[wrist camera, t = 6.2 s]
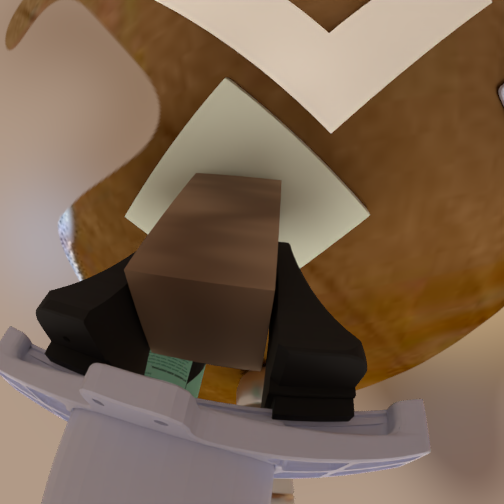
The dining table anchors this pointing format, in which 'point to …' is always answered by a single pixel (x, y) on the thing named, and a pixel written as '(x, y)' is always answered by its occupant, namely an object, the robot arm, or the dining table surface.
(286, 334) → the robot arm
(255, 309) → the walnut block
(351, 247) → the dining table surface
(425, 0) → the socket board
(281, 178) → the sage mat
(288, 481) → the plastic bottle
